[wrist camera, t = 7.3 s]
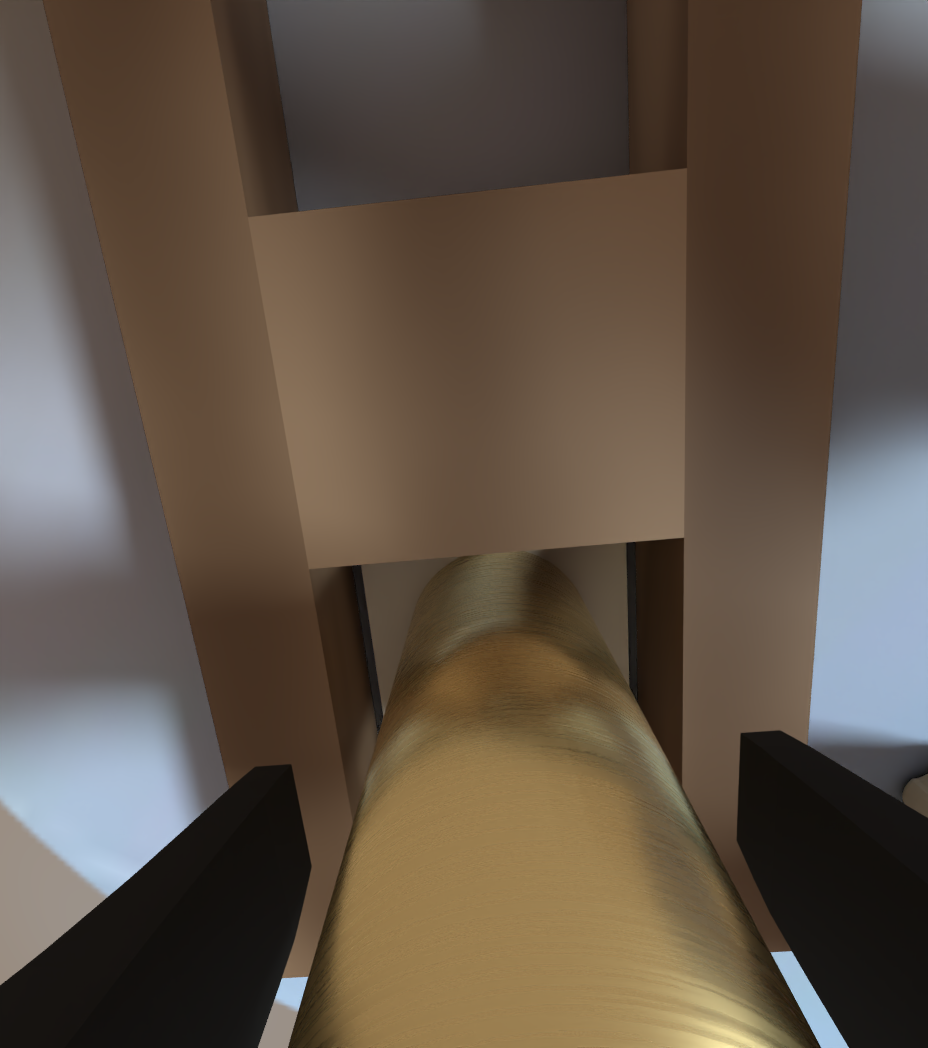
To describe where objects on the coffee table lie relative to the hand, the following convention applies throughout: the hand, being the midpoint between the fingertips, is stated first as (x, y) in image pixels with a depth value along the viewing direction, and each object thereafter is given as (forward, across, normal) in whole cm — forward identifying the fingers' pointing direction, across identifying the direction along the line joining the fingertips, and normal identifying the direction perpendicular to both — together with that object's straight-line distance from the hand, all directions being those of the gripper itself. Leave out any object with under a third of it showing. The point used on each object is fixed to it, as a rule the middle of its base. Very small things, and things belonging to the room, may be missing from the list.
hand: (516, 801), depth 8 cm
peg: (+5, 0, -1) cm, 5 cm away
